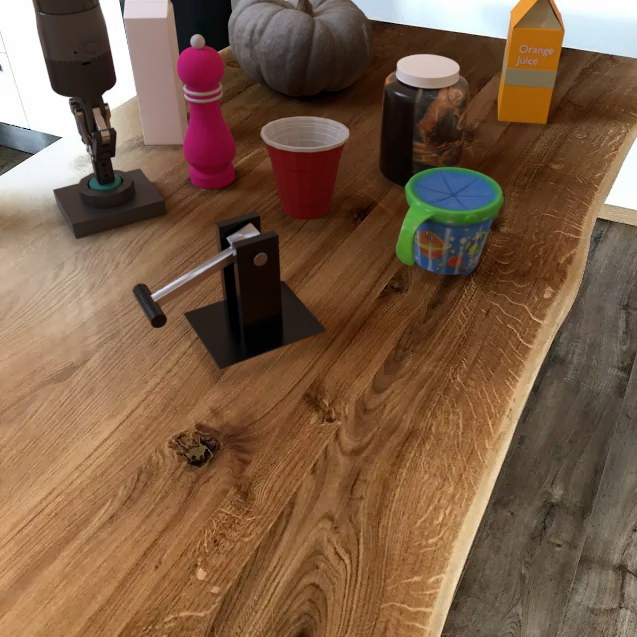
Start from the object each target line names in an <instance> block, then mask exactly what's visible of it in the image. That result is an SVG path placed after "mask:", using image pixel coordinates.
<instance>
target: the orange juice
mask: <svg viewBox="0 0 637 637" xmlns="http://www.w3.org/2000/svg"><path fill="white" fill-rule="evenodd" d="M509 13H510V18H509V24H508V31H507V36H506V43H505V48H504V54H503V61H502V68H501V74H500V81H499V87H498V94H497V121H498V122H509V123H523V124H537V125H538V124H539V125H540V124H541V125H547V121H548V116H549V111H550V106H551V101H552V96H553V92H554V88H555V83H556V78H557V75H558V74H557V73H558V67H559V62H560V57H561V53H562V48H563V43H564V37H565V33H566V29H565V25H564V21H563V18H562V13H561V12H560V11H559V9H558V6H557V4H556V2H555V0H518V2H517V3H516V4H515V5H514V7H513V8H512V9H511V10H510V12H509Z"/></svg>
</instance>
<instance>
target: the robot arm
mask: <svg viewBox="0 0 637 637" xmlns="http://www.w3.org/2000/svg"><path fill="white" fill-rule="evenodd" d="M31 1H32V6H33V9H34V16H35V24H36V25H35V26H36V30H37V36H38V39H39V44H40V47H41V51H42V55H43V59H44V63H45V67H46V68H45V69H46V71H47V76H48V80H49V83H50V84H49V85H50V88H51V90H52V91H53V92H54V93H56V94H57V95H59V96H62V97H64V98H68V104H69V109H70V112H71V114H72V115H73V117H74V120H75V124H76V128H77V132H78V134H79V136H80V138H81V139H80V140H81V142H82V143H83V145H84V146H85V147H86V148H85V150H86V153H87V154H88V155H89V157H90V162H91V166H92V170H93V173H94V175H95V179H96V180H97V182H98V184H99V185H105V184H109V183H113V182H114V181H115V176H114V171H113V170H114V166H113V162H112V159H113V158H116V152H117V151H116V150H117V138H118V136H117V135H118V132H117V130H116V129H115V127H112V124H111V118H112V113H111V108H110V105H109V103H108V102H105V101H104V97H103V96H104V94H105V93H106V92H107V91H111V90H112V89H114V87H115V86H116V84H117V75H116V74H117V73H116V68H115V63H114V58H113V52H112V47H111V43H110V42H111V41H110V36H109V32H108V26H107V21H106V19H105V14H104V13H103V10H102V7H101V2H100V0H31Z"/></svg>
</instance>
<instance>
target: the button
mask: <svg viewBox="0 0 637 637" xmlns="http://www.w3.org/2000/svg"><path fill="white" fill-rule="evenodd" d="M114 176H115V181H114V182H113V183H109V184H105V185H99V184H98V182H97V180H96V179H95V177H94V178H92V179H91V180H90V182H89V185H90V189H91V190H94V191H110V190H114V189H116V188H118V187H119V186H121V185H122V182H121V178H120V177H119V176H117V175H115V174H114Z"/></svg>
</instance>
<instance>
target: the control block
mask: <svg viewBox="0 0 637 637" xmlns="http://www.w3.org/2000/svg"><path fill="white" fill-rule="evenodd" d="M113 171H114V174H115V175H117V176H119V177H120V178H121V182H122V185H121V186H119V187H118V188H116V189H114V190H110V191H94V190H91V189H90V185H89V182H90V180H91V179H92V178H94V177H95V175H94V172H91V173H89V174H87V175H86V176H83V177H82V178H81V179H80V180H79V182H77V183H75V184H70V185H66V186H62V187H58V188H53V189H52V191H53V192H52V193H53V195H54V199H55V200H54V201H55V203H56V206H57V207H58V209H59V211H60V213H61V214H62V216H63V218H64V220H65V222H66V224H67V226H68V227H69V228H70V231H71V233H72V235H73V237H74V239H75V240H77V239H82V238H85V237H88V236H92V235H97V234H100V233H104V232H107V231H111V230H115V229H118V228H122V227H126V226H129V225H132V224H133V225H134V224H136V223H140V222H144V221H147V220H151V219H155V218H159V217H163V216H166V215H167V213H168V212H167V208H166V200H165V199H164V198H163V196H162V195H161V194H160V193H159V191H158V190H157V188H156V187H155V186H154V185H153V183H152V182H151V181H150V179H149V178H148V177H147V175H146V174H145V173H144V172H143V170H142V169H141V168H140V167H139V168H136V169H131V170H128V171H124V170H120V169H113Z"/></svg>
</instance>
